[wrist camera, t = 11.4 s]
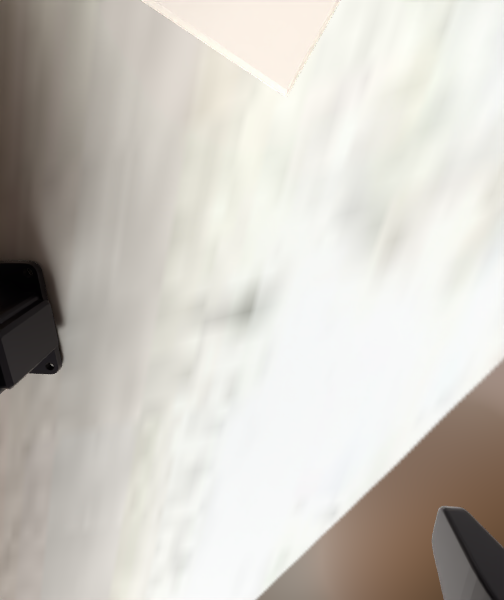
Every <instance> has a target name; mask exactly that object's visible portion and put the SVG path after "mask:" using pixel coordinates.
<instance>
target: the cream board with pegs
mask: <svg viewBox="0 0 504 600" xmlns="http://www.w3.org/2000/svg"><path fill="white" fill-rule="evenodd" d="M141 1H143V2H144V3H146V4H147V5H149V6H150V7H152V8H153V9H154V10H156V11H157V12H159V13H160V14H162V15H163V16H165V17H166V18H168V19H169V20H171V21H172V22H174V23H175V24H177V25H178V26H180V27H181V28H183V29H184V30H186V31H187V32H189V33H190V34H192V35H193V36H195V37H196V38H198V39H199V40H201V41H202V42H204V43H205V44H207V45H208V46H210V47H211V48H213V49H214V50H216V51H217V52H219V53H220V54H222V55H223V56H225V57H226V58H228V59H229V60H231V61H232V62H234V63H235V64H237V65H238V66H240V67H241V68H243V69H244V70H246V71H247V72H249V73H250V74H252V75H253V76H255V77H256V78H258V79H259V80H261V81H262V82H264V83H265V84H267V85H268V86H270V87H271V88H273V89H274V90H276V91H277V92H279V93H280V94H282V95H283V96H285V97H286V98H287V96H288V94H289V92H290V90H291V89H292V87H293V85H294V83H295V82H296V80H297V78H298V76H299V74H300V73H301V71H302V69H303V67H304V65H305V64H306V62H307V60H308V58H309V56H310V55H311V53H312V51H313V49H314V48H315V46H316V44H317V42H318V40H319V39H320V37H321V35H322V33H323V31H324V30H325V28H326V26H327V24H328V23H329V21H330V19H331V17H332V15H333V14H334V12H335V10H336V8H337V6H338V5H339V3H340V1H341V0H141Z"/></svg>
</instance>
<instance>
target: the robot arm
mask: <svg viewBox="0 0 504 600" xmlns="http://www.w3.org/2000/svg"><path fill="white" fill-rule="evenodd" d="M28 268H29V269H30V270H31V271H32V273H33V275H31V274H30V273H29V272H28ZM58 345H59V341H58V337H57V332H56V328H55V323H54V318H53V314H52V309H51V305H50V303H49V301H48V297H47V292H46V288H45V283H44V279H43V274H42V270H41V268H40V266H39V265H38V264H37V263H35V262H33V261H3V260H0V394H1V393H2V392H3V391H4V390H5V389H11V388H13V387H14V386H15V385H16V384H17V383H18V382H19V381H20V380H22V379H23V378H24V377H25V376H26V375H27V374H28V373H34V374H55V373H56V372H58V371H59V370H60V369H61V367H62V361H61V356H60V352H59V347H58ZM50 363H52V364H53V366H51V365H50ZM432 548H433V553H434V557H435V562H436V566H437V571H438V575H439V579H440V584H441V588H442V593H443V597H444V600H504V548H503V547H502V546H501V545H500V544H499V543H498V542H497V541H496V540H495V539H494V538H493V537H492V536H491V535H490V534H489V532H488V531H487V530H485V528H484V527H483V526H481V525H480V524H479V522H478V521H477V520H476V519H475V518H474V517H473V516H472V515H471V514H470V513H468V511H466V510H465V509H463V508H460V507H447V506H442V507H440V508H439V510H438V513H437V517H436V521H435V526H434V530H433V534H432Z"/></svg>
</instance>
